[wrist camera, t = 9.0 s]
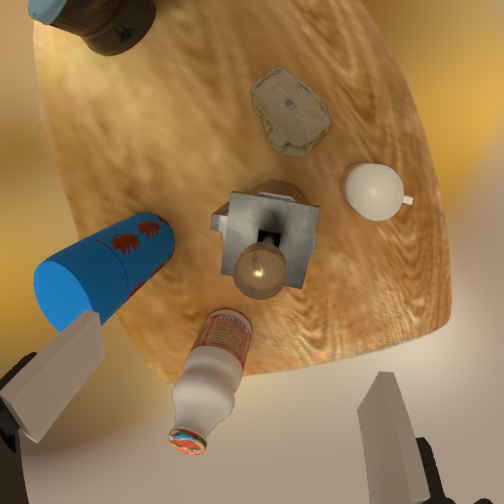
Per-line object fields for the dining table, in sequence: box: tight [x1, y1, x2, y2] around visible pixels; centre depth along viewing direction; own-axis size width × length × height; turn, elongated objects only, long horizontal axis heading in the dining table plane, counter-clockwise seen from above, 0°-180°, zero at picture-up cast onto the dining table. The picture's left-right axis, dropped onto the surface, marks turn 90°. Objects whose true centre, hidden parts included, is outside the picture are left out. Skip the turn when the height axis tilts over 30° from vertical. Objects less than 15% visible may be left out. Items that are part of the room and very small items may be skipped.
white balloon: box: [340, 162, 413, 221], centre depth 39 cm, size 8×10×9 cm
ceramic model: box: [250, 67, 330, 157], centre depth 36 cm, size 14×11×10 cm
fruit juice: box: [168, 309, 252, 455], centre depth 42 cm, size 9×9×28 cm
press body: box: [210, 180, 320, 289], centre depth 38 cm, size 10×13×17 cm
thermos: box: [33, 213, 175, 333], centre depth 39 cm, size 11×11×25 cm
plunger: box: [233, 230, 286, 300], centre depth 30 cm, size 8×8×18 cm
